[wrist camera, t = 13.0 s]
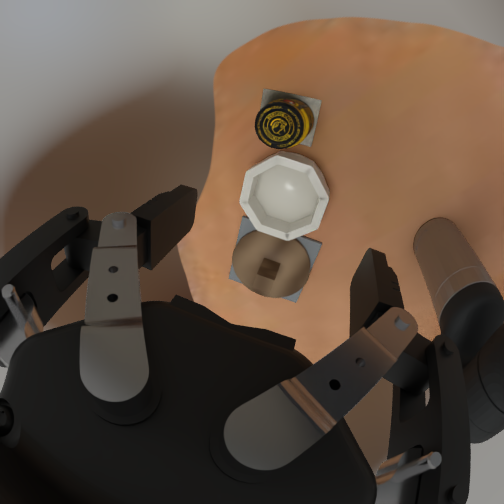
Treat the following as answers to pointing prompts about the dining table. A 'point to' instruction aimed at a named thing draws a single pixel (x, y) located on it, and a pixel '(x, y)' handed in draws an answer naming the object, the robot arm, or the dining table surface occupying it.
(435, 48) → the dining table surface
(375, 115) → the dining table surface
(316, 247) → the mat
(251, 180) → the bowl
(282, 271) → the lid
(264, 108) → the condiment
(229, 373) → the robot arm
